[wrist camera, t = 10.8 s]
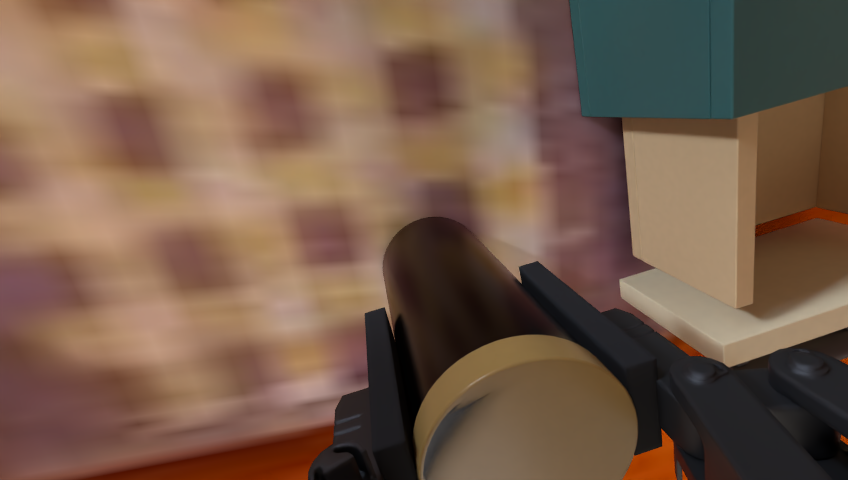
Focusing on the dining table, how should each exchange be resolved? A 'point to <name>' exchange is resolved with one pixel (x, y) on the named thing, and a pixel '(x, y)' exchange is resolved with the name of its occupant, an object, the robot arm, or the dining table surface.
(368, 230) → the dining table surface
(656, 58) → the cabinet
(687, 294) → the drawer
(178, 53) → the dining table surface
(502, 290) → the tin
